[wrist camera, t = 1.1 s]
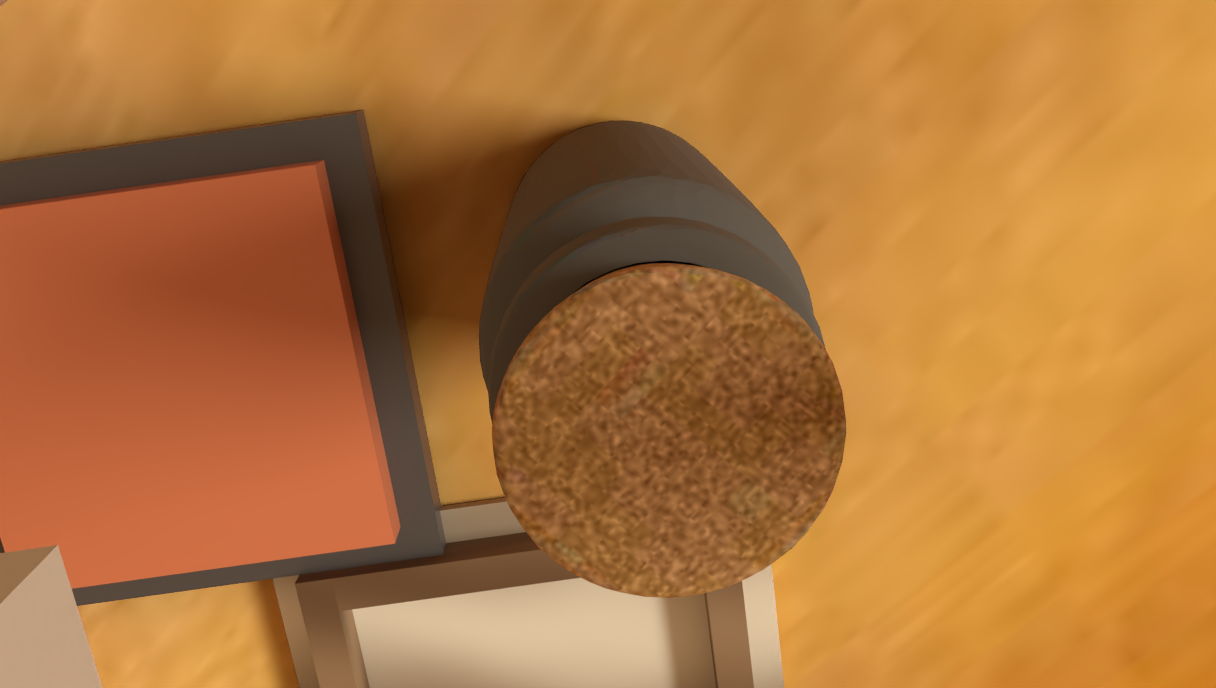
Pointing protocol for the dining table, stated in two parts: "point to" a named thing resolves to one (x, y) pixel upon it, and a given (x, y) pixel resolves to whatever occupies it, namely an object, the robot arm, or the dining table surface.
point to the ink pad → (208, 363)
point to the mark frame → (518, 622)
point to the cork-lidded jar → (654, 369)
